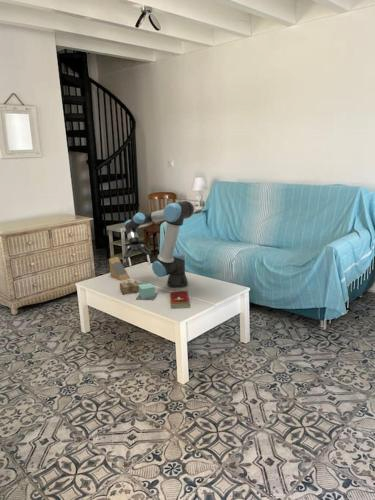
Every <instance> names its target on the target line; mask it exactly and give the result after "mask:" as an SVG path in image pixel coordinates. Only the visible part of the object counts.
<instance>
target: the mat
mask: <svg viewBox="0 0 375 500" xmlns="http://www.w3.org/2000/svg"><path fill="white" fill-rule="evenodd" d="M158 294H159V293H158V292H155V297H152V298H146V299H142V298H141V297H140V296H139V294H138V295H137V297H136V298H135V300H138V301H141V300H142V301H143V300H144V301H154V300H155V299H156V297H157V295H158Z"/></svg>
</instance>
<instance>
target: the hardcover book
mask: <svg viewBox="0 0 375 500" xmlns="http://www.w3.org/2000/svg"><path fill="white" fill-rule="evenodd" d="M189 300H190V299H189V294H188V290H176V291H175V290H174V291H173V290H172V291H170V290H169V304H170V309H180V308H181V309H183V308H185V307H186V308H190V301H189Z"/></svg>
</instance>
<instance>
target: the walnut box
mask: <svg viewBox="0 0 375 500" xmlns="http://www.w3.org/2000/svg"><path fill="white" fill-rule="evenodd" d="M138 285H140V283H139V282H138V281H137V280H134V279H127V280H123V281H122V282H119V290H120V292H121V293H122V295H129V294H137V293H139V289H138Z"/></svg>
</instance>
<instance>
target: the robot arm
mask: <svg viewBox="0 0 375 500" xmlns="http://www.w3.org/2000/svg"><path fill="white" fill-rule="evenodd" d="M194 207H195V206H194V205H193V203H191V202H190V201H188V200H183V201H178V202H172V203H169V204H167V205H166V206H165V207H164V209H160V210H156V211H152V212H151V211H150V212H147V213H142V212H141V211H139V212H137V213H135V214H134V215H133V217H132V218H131V219H128V220H126V221H124V231H125V233H126V236H127V237H126V238H127V240H128V245H127V244H126V246H125V251H124V253H123V257H122V258H123V259H124V260H126V263H127V264H128V265H129V268H132V262H131V258H130V256H131V255H132V253H133V252H140V253H142V254H144V255H145V256H146V260H147V262H148V265H151V269H152V272H153V273H154V275H155V276H157V277H159V278H163V277H166V276H168V277H167V280H166V285H167V286H168V287H170V288H184V287H187V286H189V285H188V284H189V281H188V278H187V275H186V259H185V255H184V254H183V253H179V252H178V253H176V252H175V248H176V244H177V240H178V237H179V236H178V235H179V232H180V228H181V227H182V226H183V225H184V220H186V219H188V218H191V217H192V216H193V215H194V214H195V213H194V212H195V208H194ZM161 221H162V222H163V221H165V222H166V226H165V231H164V232H165V233H164V235H163V236H164V237H163V241H162V245H161V249H160V253H159V254H158V255H157V257H156V260H155V261H153V262H152V264H151V259H152V258H151V256H152V254H153V252H152V251H151V250H150V249H149V248H148V247H147V245H146V244H145V243H143V244H141V241H140V239H139V238H140V237H139V234H138V231H137V230H138V229H140V227H141V226H144V225H148V224H153V223H157V222H161ZM129 249H130V251H129V252H128V250H129Z"/></svg>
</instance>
